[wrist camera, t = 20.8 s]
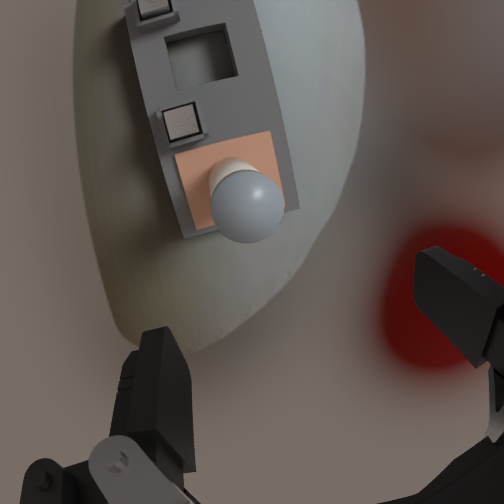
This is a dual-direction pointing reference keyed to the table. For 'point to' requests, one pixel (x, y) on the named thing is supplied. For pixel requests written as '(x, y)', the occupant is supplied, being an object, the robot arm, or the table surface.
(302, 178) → the table surface
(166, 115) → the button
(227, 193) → the cartridge
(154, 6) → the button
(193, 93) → the housing
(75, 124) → the table surface
